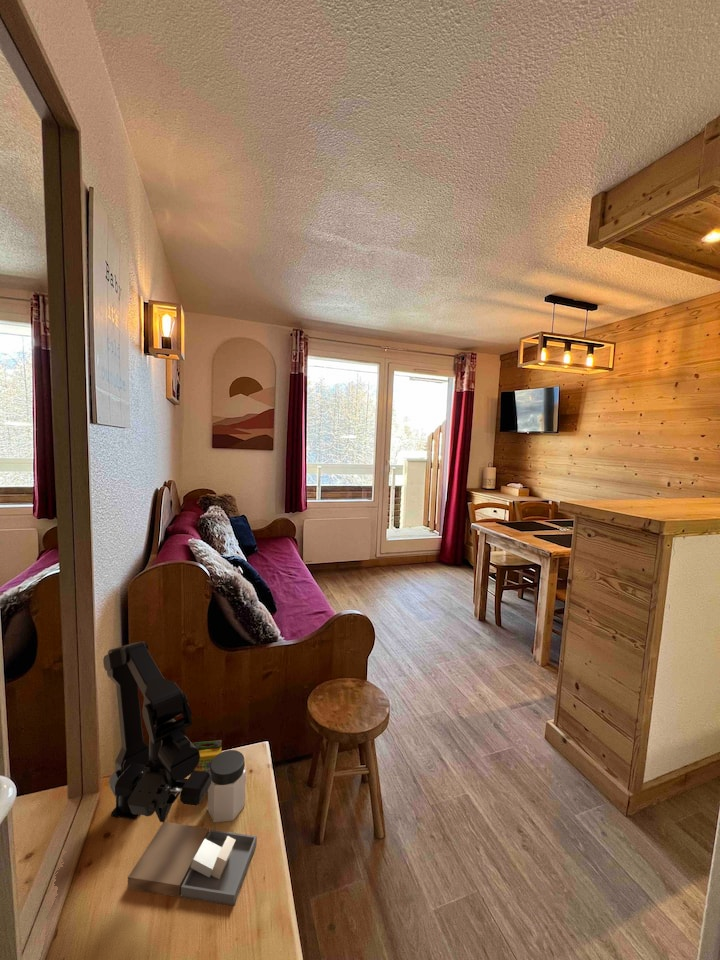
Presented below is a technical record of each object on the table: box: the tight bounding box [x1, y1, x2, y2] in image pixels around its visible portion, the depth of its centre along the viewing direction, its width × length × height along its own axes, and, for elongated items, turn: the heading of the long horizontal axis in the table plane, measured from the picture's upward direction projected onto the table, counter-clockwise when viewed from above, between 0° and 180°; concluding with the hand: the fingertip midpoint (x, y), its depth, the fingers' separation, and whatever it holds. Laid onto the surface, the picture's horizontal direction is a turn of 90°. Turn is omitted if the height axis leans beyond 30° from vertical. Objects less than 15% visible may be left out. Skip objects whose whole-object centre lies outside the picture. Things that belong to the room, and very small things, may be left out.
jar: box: [207, 749, 247, 823], centre depth 96 cm, size 9×8×12 cm
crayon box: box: [190, 739, 223, 775], centre depth 102 cm, size 7×3×12 cm, turn 101°
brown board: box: [127, 821, 210, 898], centre depth 83 cm, size 11×12×2 cm
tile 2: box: [211, 836, 236, 879], centre depth 82 cm, size 4×4×2 cm
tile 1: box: [190, 839, 222, 878], centre depth 82 cm, size 4×4×2 cm
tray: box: [180, 829, 258, 907], centre depth 82 cm, size 11×12×2 cm
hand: (163, 820), depth 83 cm, fingers closed
